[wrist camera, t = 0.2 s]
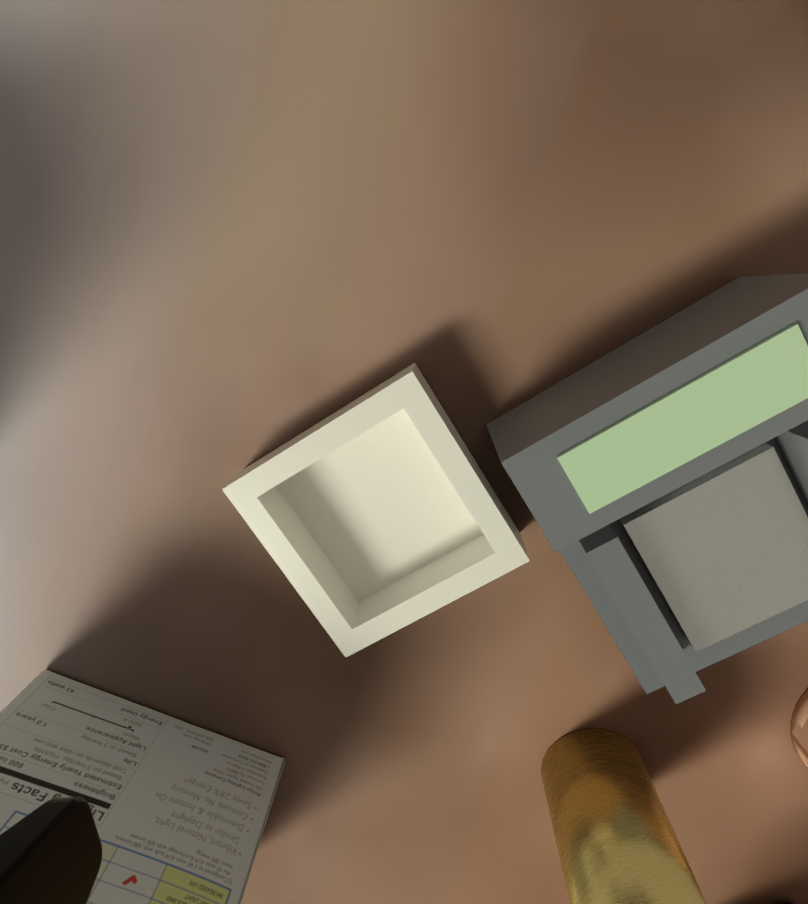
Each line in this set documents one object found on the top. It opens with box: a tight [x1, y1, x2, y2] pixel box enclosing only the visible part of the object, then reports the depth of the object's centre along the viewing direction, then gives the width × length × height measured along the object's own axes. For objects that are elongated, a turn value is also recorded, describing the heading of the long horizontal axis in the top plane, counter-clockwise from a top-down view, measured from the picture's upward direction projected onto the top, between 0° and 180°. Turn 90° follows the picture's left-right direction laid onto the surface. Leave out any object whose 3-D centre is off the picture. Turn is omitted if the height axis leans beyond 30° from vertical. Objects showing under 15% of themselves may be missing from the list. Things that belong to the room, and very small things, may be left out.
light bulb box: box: [0, 670, 285, 904], centre depth 19 cm, size 11×7×11 cm, turn 68°
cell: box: [541, 728, 706, 904], centre depth 19 cm, size 4×4×8 cm
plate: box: [618, 443, 808, 652], centre depth 18 cm, size 5×5×1 cm
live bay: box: [222, 363, 530, 657], centre depth 19 cm, size 7×7×2 cm
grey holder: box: [486, 273, 808, 704], centre depth 17 cm, size 11×9×5 cm
